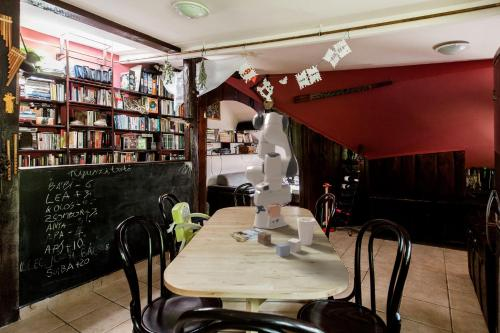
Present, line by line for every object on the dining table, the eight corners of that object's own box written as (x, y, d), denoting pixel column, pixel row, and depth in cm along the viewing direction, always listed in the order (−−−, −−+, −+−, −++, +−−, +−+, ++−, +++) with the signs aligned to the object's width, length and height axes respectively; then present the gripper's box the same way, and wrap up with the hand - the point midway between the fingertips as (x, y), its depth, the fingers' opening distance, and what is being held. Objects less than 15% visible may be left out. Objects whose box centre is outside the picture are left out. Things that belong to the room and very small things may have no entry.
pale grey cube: (292, 247, 149) (292, 238, 148) (301, 250, 145) (301, 240, 145) (287, 250, 145) (287, 240, 145) (295, 252, 142) (295, 242, 141)
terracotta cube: (274, 214, 150) (274, 204, 150) (280, 216, 146) (280, 206, 145) (266, 215, 148) (266, 205, 147) (271, 217, 143) (271, 207, 143)
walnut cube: (265, 240, 159) (265, 231, 159) (270, 243, 155) (271, 234, 155) (257, 242, 156) (257, 233, 156) (263, 245, 152) (263, 235, 152)
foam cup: (304, 247, 148) (304, 222, 147) (293, 242, 157) (293, 218, 156) (318, 244, 153) (318, 220, 152) (307, 239, 161) (307, 216, 160)
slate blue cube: (285, 251, 143) (285, 242, 143) (289, 255, 138) (290, 245, 138) (276, 253, 142) (276, 243, 141) (280, 257, 137) (280, 246, 136)
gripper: (286, 182, 153) (286, 208, 154) (252, 186, 144) (252, 213, 145) (293, 184, 147) (293, 211, 148) (258, 188, 138) (258, 216, 139)
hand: (273, 212), depth 147 cm, fingers closed on terracotta cube, 5 cm apart
